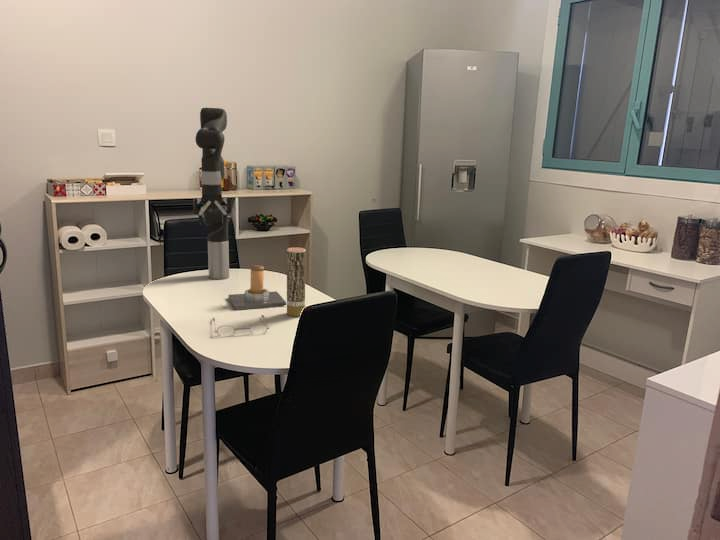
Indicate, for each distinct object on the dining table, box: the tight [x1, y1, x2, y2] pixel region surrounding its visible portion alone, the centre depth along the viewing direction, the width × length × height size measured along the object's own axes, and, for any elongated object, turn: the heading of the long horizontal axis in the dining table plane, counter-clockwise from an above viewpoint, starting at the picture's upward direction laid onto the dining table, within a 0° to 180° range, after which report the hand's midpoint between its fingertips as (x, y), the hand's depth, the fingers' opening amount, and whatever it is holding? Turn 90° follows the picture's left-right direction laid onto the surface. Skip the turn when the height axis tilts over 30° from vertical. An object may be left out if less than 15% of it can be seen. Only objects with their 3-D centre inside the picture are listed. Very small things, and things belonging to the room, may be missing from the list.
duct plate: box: [227, 288, 287, 311], centre depth 225 cm, size 16×20×4 cm
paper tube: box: [286, 246, 307, 317], centre depth 209 cm, size 7×7×25 cm
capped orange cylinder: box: [249, 264, 265, 294], centre depth 224 cm, size 5×5×13 cm
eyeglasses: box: [213, 314, 270, 336], centre depth 198 cm, size 18×19×4 cm
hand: (212, 224), depth 223 cm, fingers open, 8 cm apart
